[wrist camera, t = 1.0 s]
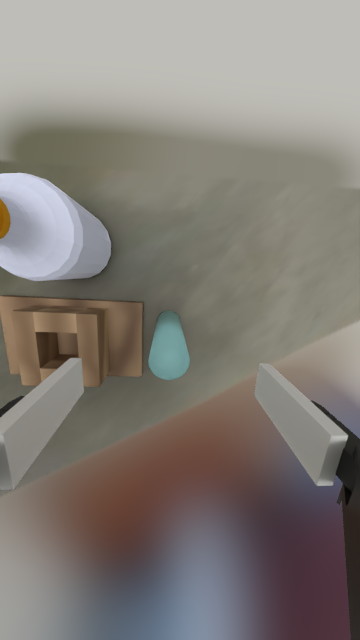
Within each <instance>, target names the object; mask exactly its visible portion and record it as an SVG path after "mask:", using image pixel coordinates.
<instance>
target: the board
mask: <svg viewBox="0 0 360 640" xmlns="http://www.w3.org/2000/svg"><path fill="white" fill-rule="evenodd" d="M0 315H1V321H2V327H3V333H4V339H5V345H6V351H7V357H8V363H9V369H10V374H20V375H21V381H22V385H32V386H38V385H39V384H40V383H41V382H43V381H44V380H45V379H46V378H47V377H49V376H50V375H51V374H52V373H53V372H54V371H56V370H57V369H58V368H59V367H60V366H61V365H63V364H64V363H65V362H66V361H67V360H69V359H70V358H82V373H83V386H96V387H100V386H101V384H102V382H103V381H104V379H105V377H106V376H139V377H141V376H142V368H143V302H135V301H114V300H93V299H72V298H51V297H30V296H10V295H3V296H0Z"/></svg>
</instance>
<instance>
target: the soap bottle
mask: <svg viewBox="0 0 360 640" xmlns="http://www.w3.org/2000/svg"><path fill="white" fill-rule="evenodd" d="M110 256H111V241H110V238H109V235H108V231H107V230H106V228H105V227H104V226H103V224H102V223H101V221H100V220H99V219H97V218H96V217H95V216H93V215H92V214H91V213H90V212H88V211H87V210H86V209H84V208H83V207H82V206H81V205H79V204H78V203H77V202H75V201H74V200H73V199H72V198H70V197H69V196H68V195H66V194H65V193H64V192H63V191H61V190H60V189H59V188H57V187H56V186H55V185H53V184H52V183H51V182H49V181H48V180H45V179H42V178H39V177H36V176H33V175H30V174H25V173H7V174H0V266H1V267H2V268H4V269H6V270H7V271H9V272H10V273H12V274H14V275H16V276H18V277H22V278H26V279H29V280H33V281H45V280H62V279H79V278H90V277H92V276H94V275H97V274H99V273H100V272H101V271H102V270H103V269H104V268H105V267H106V266H107V263H108V261H109V258H110Z"/></svg>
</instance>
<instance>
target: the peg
mask: <svg viewBox="0 0 360 640" xmlns="http://www.w3.org/2000/svg"><path fill="white" fill-rule="evenodd" d="M189 363H190V358H189V354H188V350H187V346H186V342H185V338H184V334H183V330H182V327H181V323H180V319H179V316H178V315H177V314H176V313H175V312H173V311H164V312H162V313H161V314H160V315H159V317H158V319H157V324H156V328H155V333H154V337H153V341H152V346H151V350H150V355H149V367H150V369H151V371H152V372H153V373H154V374H155V375H156V376H157V377H159V378H161V379H165V380H172V379H176V378H179V377H180V376H182V375H183V374H184V373H185V372H186V371H187V369H188V367H189Z"/></svg>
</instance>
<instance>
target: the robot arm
mask: <svg viewBox="0 0 360 640" xmlns="http://www.w3.org/2000/svg"><path fill="white" fill-rule="evenodd" d="M83 393H84V387H83V373H82V358H70V359H69V360H67V361H66V362H65V363H64V364H63V365H61V366H60V367H59V368H58V369H57V370H56V371H54V372H53V373H52V374H51V375H50V376H49V377H47V378H46V379H45V380H44V381H43V382H41V383H40V384H39V385H38V386H37V387H36V388H34V389H33V390H32V391H31V392H30V393H29V394H27V395H26V396H20V397H18V398H16V399H14V400H13V401H11V402H9V403H8V404H6V405H5V406H4V407H3V408H1V409H0V490H14V488H15V487H16V485H17V484H18V483H19V481H20V480H21V478H22V477H23V476H24V474H25V473H26V472H27V470H28V469H29V467H30V466H31V465H32V463H33V462H34V460H35V459H36V458H37V456H38V455H39V454H40V452H41V451H42V449H43V448H44V447H45V445H46V444H47V442H48V441H49V440H50V438H51V437H52V436H53V434H54V433H55V431H56V430H57V429H58V427H59V426H60V424H61V423H62V422H63V420H64V419H65V418H66V416H67V415H68V413H69V412H70V411H71V409H72V408H73V406H74V405H75V404H76V402H77V401H78V400H79V398H80V397H81V395H82V394H83ZM254 396H255V397H256V399H257V400H258V401H259V403H260V404H261V406H262V407H263V409H264V410H265V412H266V413H267V415H268V416H269V417H270V419H271V420H272V422H273V423H274V425H275V426H276V428H277V429H278V430H279V432H280V433H281V435H282V436H283V438H284V439H285V440H286V442H287V444H288V445H289V446H290V448H291V449H292V451H293V452H294V454H295V455H296V457H297V458H298V459H299V461H300V462H301V464H302V465H303V467H304V468H305V469H306V471H307V472H308V474H309V475H310V477H311V478H312V480H313V481H314V483H315V484H316V485H317V486H323V485H324V486H326V485H327V486H328V485H333V482H334V479H335V476H336V475H337V476H338V478H339V479H340V480H341V481H342V482H343V485H342V488H341V491H340V494H339V497H338V500H337V503H338V504H340V503H341V501H342V512H343V527H344V542H345V558H346V573H347V588H348V604H349V619H350V634H351V640H360V439H359V438H358V437H357V436H356V435H355V434H353V433H352V432H351V431H350V430H349V429H348V428H346V427H345V426H344V425H343V424H342V423H341V422H340V421H338V420H337V419H336V418H335V417H334V416H333V415H331V414H330V413H329V412H328V411H327V410H326V409H325V408H324V407H322V406H321V405H319V404H317V403H316V402H314V401H310V400H309V399H307V398H306V397H305V396H304V395H303V394H302V393H301V392H300V391H299V390H298V389H296V388H295V387H294V386H293V385H292V384H291V383H290V382H289V381H288V380H287V379H286V378H284V377H283V376H282V375H281V374H280V373H279V372H278V371H277V370H276V369H274V368H273V367H272V366H271V365H270V364H259V370H258V376H257V382H256V388H255V393H254Z"/></svg>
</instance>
